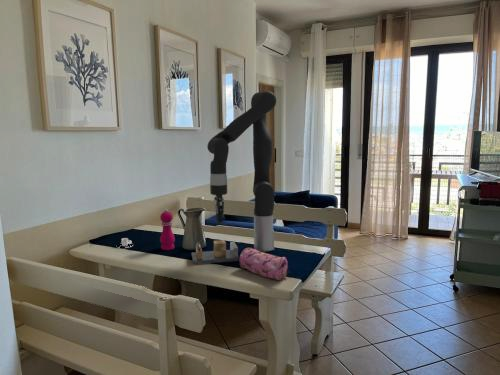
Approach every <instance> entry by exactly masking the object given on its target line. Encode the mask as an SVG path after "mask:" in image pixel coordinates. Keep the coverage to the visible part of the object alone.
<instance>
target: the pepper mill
mask: <svg viewBox="0 0 500 375" xmlns="http://www.w3.org/2000/svg"><path fill="white" fill-rule="evenodd" d="M173 217H174V216H173V214H172V212H170V211H169V209H167V208H164V212H162V213H161V214H160V217H159V218H160V221H161V226H162V232H161V235H160V238H159V243H161V246H160V248H161V250H162V251H171V250H174V248H175V244H174V243H175V242H176V239H175V235H174V234H175V233H173V230H172V225H173V221H172V220H173V219H174V218H173Z"/></svg>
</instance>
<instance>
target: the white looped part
mask: <svg viewBox="0 0 500 375" xmlns="http://www.w3.org/2000/svg"><path fill="white" fill-rule="evenodd" d="M120 244H122V245H121V246H122V247H125V248H124V249H127V248H132V247H133V246H134V244H133V243H132V240H130V239H129V238H128V237H123V238H121V242H120ZM128 244H129V245H130V244H133V245H132V246H131V245H130V247H129V246H128ZM121 246H119V247H117V248H118V249H121V248H120V247H121Z"/></svg>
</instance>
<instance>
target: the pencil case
mask: <svg viewBox="0 0 500 375" xmlns="http://www.w3.org/2000/svg"><path fill="white" fill-rule="evenodd" d="M239 266H240V268H241V269H245V270H247V271H250V272H252V273H254V274H256V275H259V276H262V277H266V278H269V279H273V280H277V281H281V279H282V280H284V279H285V278H286V276H287V274H289V273H290V267H288V266H289V265H288V259H287V257H285V256H282V257H281V256H278V255H274V254H269V253H266V252H264V251H258V250H255V249H254V248H252V247H246V248H244V249H243V250H242V251H241V253H240V255H239Z"/></svg>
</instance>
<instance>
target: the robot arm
mask: <svg viewBox="0 0 500 375" xmlns="http://www.w3.org/2000/svg"><path fill="white" fill-rule="evenodd" d="M275 106H277V96H276V95H275V94H274V93H273V91H269V90H264V91H260V92H259V91H258V92H255V93H254V94H253V95H252V97H251V101H250V108H249V109H248V110H246V111H245V112H243V113H242V114H240V115H238V116H237V117H236V118H235V119H233V120H232V121H231V122H230V123H229V124H228V125H227V126H226V127H225V128H224V129H223V130H221V131H219V132H218V133H217V134H216V135H214V136H213V137H212V138H210V139H209V141H208V143H207V150H208V152H209V153H211V154H212V155H213V160H211V161H210V163H209V165H210V166H209V168H210V170H209V171H210V176H209V185H210V186H209V189H210V190H209V191H210V195H212V196H214V198H213V201H214V211H215V215H216V216H215V218H216V222H217V223H220V224H221V223H223V222H224V221H223V214H224V208H225V199H224V197H223V196H225V195H227V194H228V176H227V162H228V157H229V149H230V148H229V144H230V143H233V142H235V141H236V140H238V138H239V137H241V135H242V134H243V133H245V132H246V131H247V129H249V127H251V126H252V154H253V157H252V158H253V168H254V169H253V170H254V173H253V174H254V176H253V185H252V186H253V187H252V193H253V196H254V208H253V249H255V250H258V251H260V252H271V251H274V250H275V230H274V210H275V209H274V208H275V190H274V187H273V185H272V184H271V180H270V179H271V178H270V168H271V163H272V159H273V137H272V134H271V132H270V130H269V127H268V123H267V113H269V112H271V111H272V110H273V109H274V108H275Z"/></svg>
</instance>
